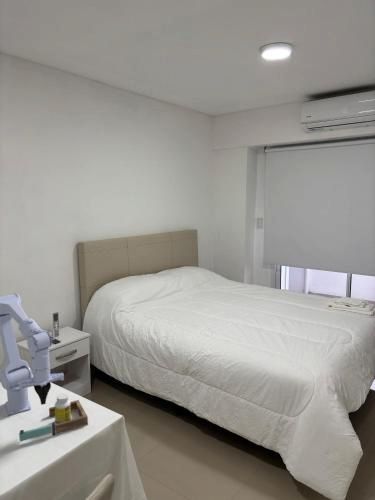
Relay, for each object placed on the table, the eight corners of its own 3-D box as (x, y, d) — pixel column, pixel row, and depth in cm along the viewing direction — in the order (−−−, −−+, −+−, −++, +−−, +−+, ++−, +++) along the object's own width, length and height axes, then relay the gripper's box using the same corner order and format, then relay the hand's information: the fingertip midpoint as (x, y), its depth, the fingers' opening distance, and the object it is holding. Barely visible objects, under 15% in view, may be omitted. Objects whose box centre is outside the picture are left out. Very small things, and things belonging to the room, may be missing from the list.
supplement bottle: (67, 426, 135) (66, 400, 133) (52, 425, 135) (51, 399, 134) (73, 417, 140) (72, 392, 139) (59, 416, 141) (58, 391, 139)
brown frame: (45, 416, 140) (45, 406, 140) (78, 407, 147) (78, 397, 146) (52, 435, 130) (52, 424, 129) (88, 424, 136) (87, 414, 135)
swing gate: (51, 430, 130) (50, 422, 130) (51, 432, 129) (51, 423, 129) (19, 439, 125) (18, 430, 125) (19, 441, 124) (19, 432, 124)
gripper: (19, 376, 123) (21, 414, 126) (65, 366, 130) (66, 403, 133) (17, 367, 130) (19, 404, 132) (61, 358, 136) (62, 393, 139)
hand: (43, 402), depth 133 cm, fingers closed
